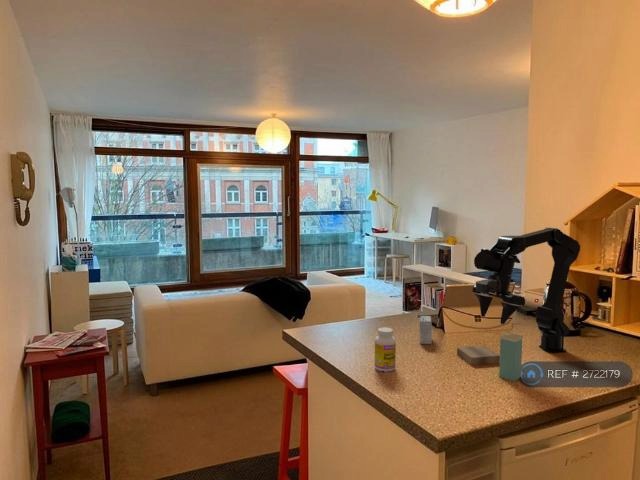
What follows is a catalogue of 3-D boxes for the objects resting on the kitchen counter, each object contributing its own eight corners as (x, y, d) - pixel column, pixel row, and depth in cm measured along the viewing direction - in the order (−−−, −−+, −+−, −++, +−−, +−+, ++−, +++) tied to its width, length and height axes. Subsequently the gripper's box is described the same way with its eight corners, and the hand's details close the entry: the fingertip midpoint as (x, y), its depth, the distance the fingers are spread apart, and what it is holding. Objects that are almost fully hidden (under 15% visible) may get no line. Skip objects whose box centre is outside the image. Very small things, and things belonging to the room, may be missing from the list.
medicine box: (431, 344, 172) (432, 321, 171) (419, 344, 173) (419, 321, 172) (431, 337, 180) (431, 315, 179) (419, 337, 181) (419, 315, 180)
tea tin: (505, 372, 146) (507, 332, 144) (521, 377, 142) (522, 335, 141) (498, 377, 142) (500, 335, 141) (514, 381, 139) (515, 339, 137)
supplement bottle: (382, 374, 146) (382, 334, 144) (370, 367, 152) (370, 328, 150) (399, 370, 149) (400, 330, 147) (387, 363, 155) (387, 325, 153)
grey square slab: (483, 353, 163) (484, 345, 163) (499, 364, 153) (499, 355, 153) (457, 355, 162) (457, 347, 161) (471, 366, 152) (471, 357, 152)
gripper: (464, 265, 160) (454, 310, 160) (504, 275, 142) (492, 324, 143) (490, 270, 164) (480, 314, 164) (531, 280, 146) (520, 329, 147)
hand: (492, 320), depth 154 cm, fingers open, 9 cm apart
